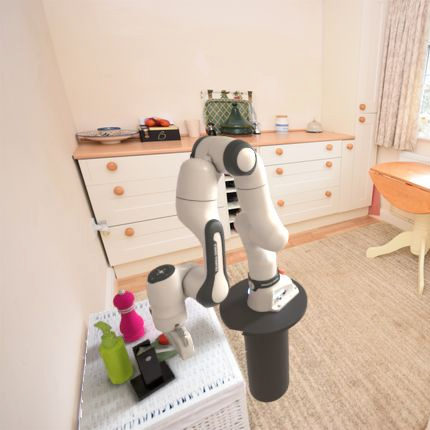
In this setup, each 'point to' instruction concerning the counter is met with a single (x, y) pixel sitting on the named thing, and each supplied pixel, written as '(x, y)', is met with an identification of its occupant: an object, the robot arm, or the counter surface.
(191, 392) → the counter surface
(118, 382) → the soap dispenser
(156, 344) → the button block
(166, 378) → the bracket
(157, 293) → the robot arm
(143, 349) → the tap lever
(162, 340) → the button
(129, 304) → the pepper mill
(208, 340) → the counter surface
